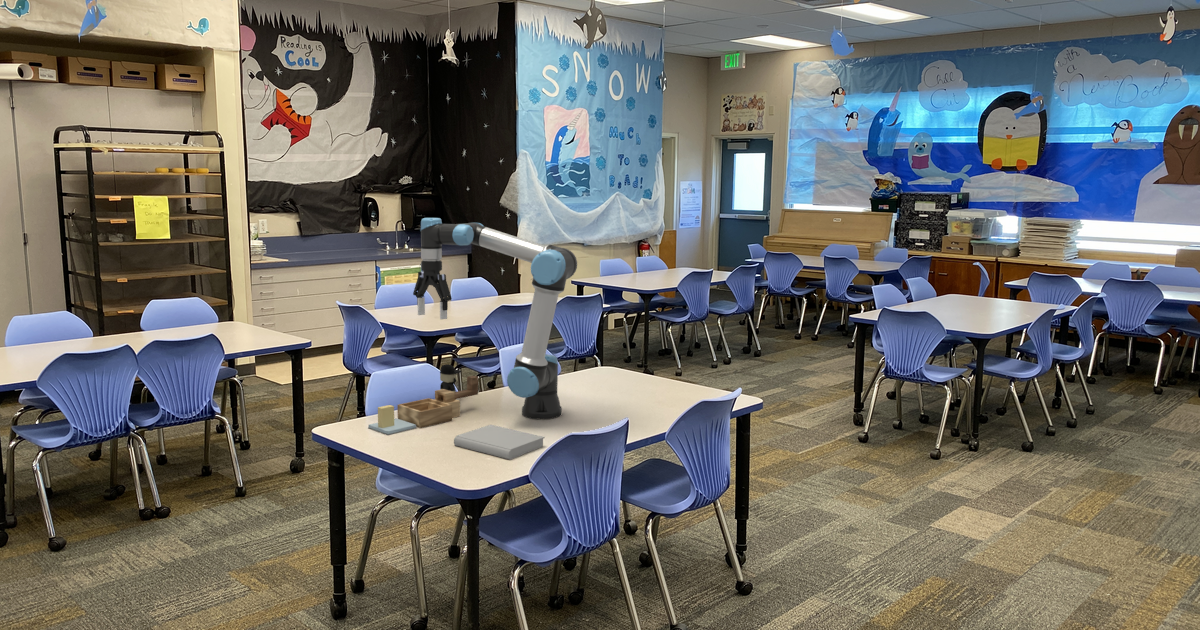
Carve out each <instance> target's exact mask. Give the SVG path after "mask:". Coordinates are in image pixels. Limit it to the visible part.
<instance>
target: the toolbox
mask: <svg viewBox="0 0 1200 630" xmlns="http://www.w3.org/2000/svg"><path fill="white" fill-rule="evenodd" d="M442 396H443V400H442ZM396 409H397V419H400V420H403V421H406V422H409V423H412V424H415V425H416V428H418V429H423V428H428V427H432V426H436V425H440V424H445V423H450V422H453V419H455V418H458V417H461V400H459V399H455V392H452V391H449V390H445V389H441V390H440V389H436V390H434V399H433V398H429V397H428V398H422V399H419V400H413V401H408V402H404V403H403V402H402V403H399V404H397V408H396Z"/></svg>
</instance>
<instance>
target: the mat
mask: <svg viewBox="0 0 1200 630" xmlns="http://www.w3.org/2000/svg"><path fill="white" fill-rule="evenodd" d="M368 429H369V430H372V431H375V432H378V433H381V434H383V435H385V436H390V435H394V434H399V433H402V432H403V433H404V432H406V431H411V430H416V429H417V427H416V428H412V429H408V430H404V431H400V432H395V433H391V434H386V433H383V432H380V431H377V430H374V429H371V428H369V427H368Z"/></svg>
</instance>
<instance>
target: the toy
mask: <svg viewBox="0 0 1200 630" xmlns="http://www.w3.org/2000/svg"><path fill="white" fill-rule="evenodd" d="M460 373H462V370H459V369H455V368H454V366H453V365H452V364H442V365H441V366H440V371H439V376H440V377H439V379H440V382H441V383H440V384H439V385H440V389H439V390H441V389H445V390H449V391H452V392H457V391H456V386H455V383H456V382H457V374H460Z"/></svg>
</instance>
